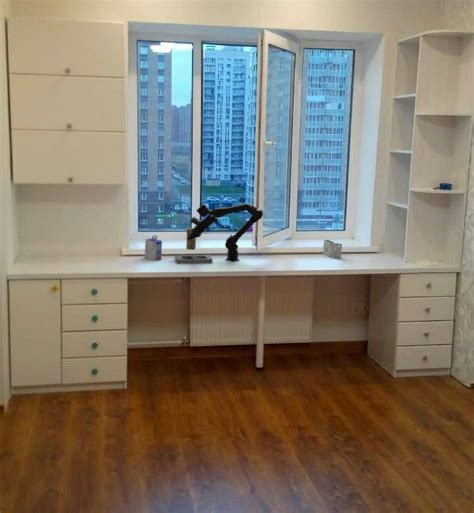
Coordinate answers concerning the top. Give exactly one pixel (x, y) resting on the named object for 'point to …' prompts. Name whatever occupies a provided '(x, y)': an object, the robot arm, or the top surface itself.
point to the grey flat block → (193, 259)
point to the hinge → (332, 249)
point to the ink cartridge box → (153, 248)
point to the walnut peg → (192, 242)
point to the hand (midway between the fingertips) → (189, 238)
